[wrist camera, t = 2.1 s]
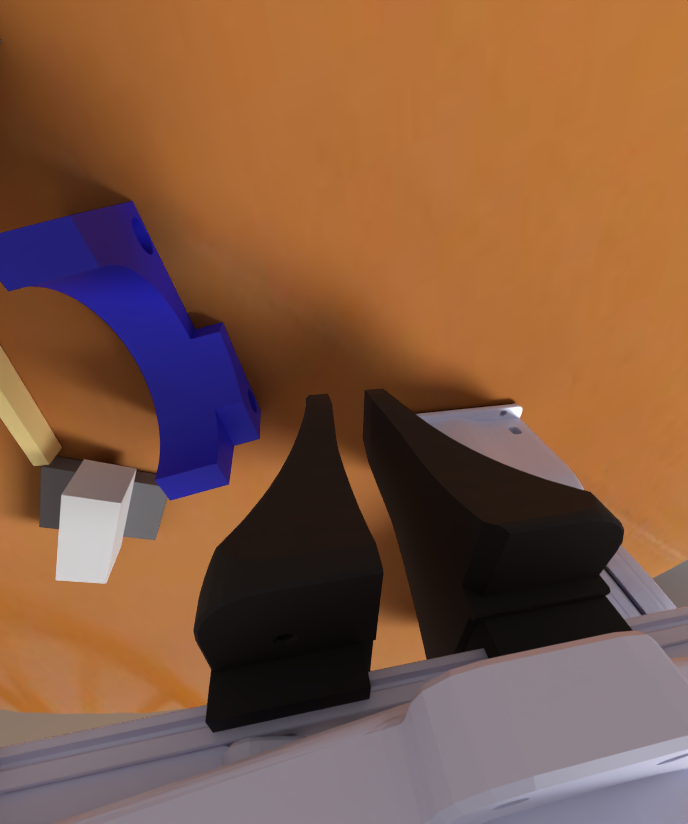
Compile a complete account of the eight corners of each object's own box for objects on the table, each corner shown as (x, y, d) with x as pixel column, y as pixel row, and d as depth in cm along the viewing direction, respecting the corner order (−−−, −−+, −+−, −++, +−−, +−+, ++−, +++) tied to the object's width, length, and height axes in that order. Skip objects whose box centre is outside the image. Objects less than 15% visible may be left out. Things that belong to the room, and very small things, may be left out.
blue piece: (260, 409, 22) (258, 476, 17) (191, 428, 22) (170, 500, 17) (167, 192, 15) (119, 202, 10) (65, 218, 15) (-32, 240, 10)
